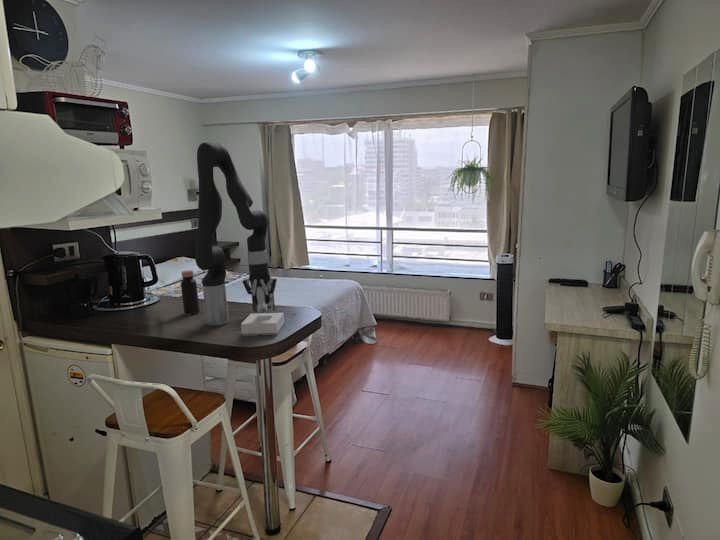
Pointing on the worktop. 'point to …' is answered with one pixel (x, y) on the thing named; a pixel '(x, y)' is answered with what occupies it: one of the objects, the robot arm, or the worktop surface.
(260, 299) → the peg
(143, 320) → the worktop surface
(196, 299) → the bottle
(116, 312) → the worktop surface
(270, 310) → the coffee box
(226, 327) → the worktop surface
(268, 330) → the socket block
